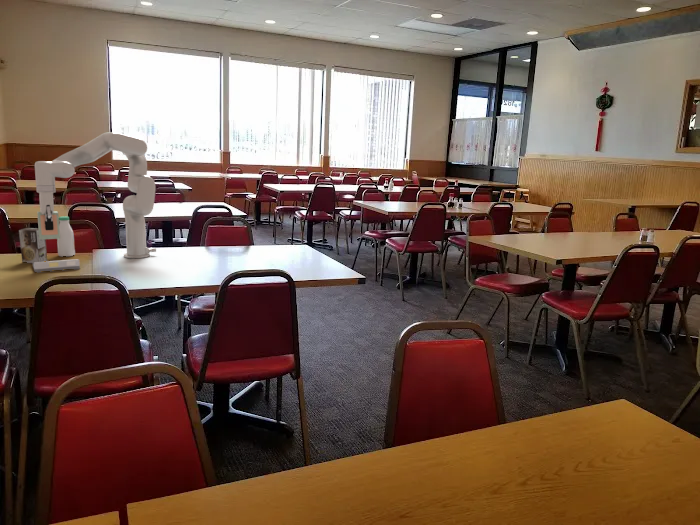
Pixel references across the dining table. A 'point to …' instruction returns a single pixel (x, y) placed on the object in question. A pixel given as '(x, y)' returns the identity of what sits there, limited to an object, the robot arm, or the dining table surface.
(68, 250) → the milk bottle
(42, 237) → the box
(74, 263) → the shelf board
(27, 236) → the coffee box
